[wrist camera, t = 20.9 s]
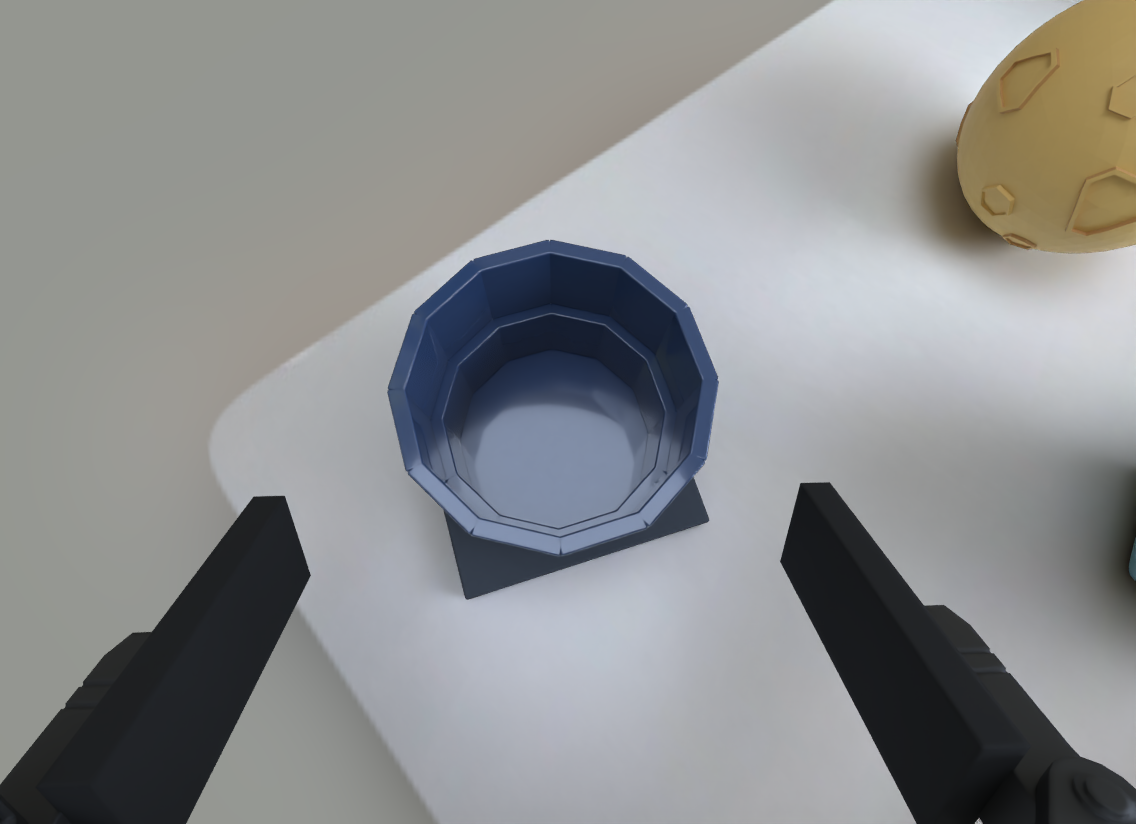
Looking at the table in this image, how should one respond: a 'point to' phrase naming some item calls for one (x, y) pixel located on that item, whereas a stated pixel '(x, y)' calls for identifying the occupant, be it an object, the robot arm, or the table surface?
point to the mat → (508, 566)
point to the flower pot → (1133, 562)
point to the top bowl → (553, 397)
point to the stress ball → (1058, 135)
